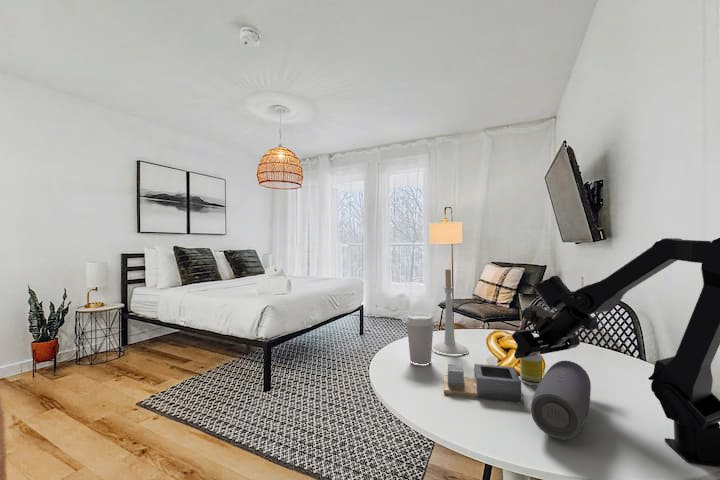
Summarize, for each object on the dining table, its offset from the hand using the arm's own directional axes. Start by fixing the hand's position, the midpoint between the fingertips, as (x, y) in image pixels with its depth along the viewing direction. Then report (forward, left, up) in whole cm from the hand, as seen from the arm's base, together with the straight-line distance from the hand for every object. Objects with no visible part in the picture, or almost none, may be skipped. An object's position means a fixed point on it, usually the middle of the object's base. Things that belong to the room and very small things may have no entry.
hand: (527, 354), depth 89 cm
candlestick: (+22, +21, -7) cm, 31 cm away
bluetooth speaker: (-20, -3, -7) cm, 22 cm away
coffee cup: (+7, +30, -7) cm, 32 cm away
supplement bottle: (-1, -1, -7) cm, 7 cm away
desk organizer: (-10, +13, -7) cm, 18 cm away
